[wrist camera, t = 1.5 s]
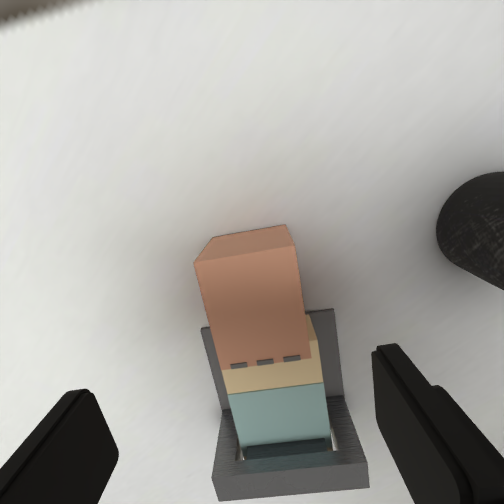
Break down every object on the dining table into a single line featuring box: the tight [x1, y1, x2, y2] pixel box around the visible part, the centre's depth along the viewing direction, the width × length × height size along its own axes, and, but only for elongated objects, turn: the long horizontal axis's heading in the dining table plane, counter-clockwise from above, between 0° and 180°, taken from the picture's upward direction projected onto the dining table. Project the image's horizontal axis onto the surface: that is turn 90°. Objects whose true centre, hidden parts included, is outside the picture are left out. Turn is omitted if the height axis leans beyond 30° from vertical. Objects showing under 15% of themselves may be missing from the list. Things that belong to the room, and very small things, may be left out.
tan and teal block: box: [221, 314, 333, 460], centre depth 22 cm, size 11×7×4 cm, turn 11°
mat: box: [201, 309, 344, 412], centre depth 24 cm, size 12×11×1 cm
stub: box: [193, 225, 312, 370], centre depth 18 cm, size 7×6×6 cm
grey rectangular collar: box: [212, 395, 370, 502], centre depth 22 cm, size 2×11×6 cm, turn 101°
